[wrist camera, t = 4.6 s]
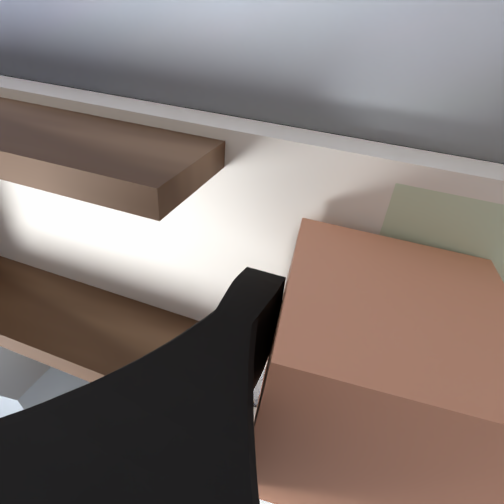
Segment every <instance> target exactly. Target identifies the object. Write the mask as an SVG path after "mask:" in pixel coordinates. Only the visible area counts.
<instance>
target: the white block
mask: <svg viewBox="0 0 504 504" xmlns="http://www.w3.org/2000/svg"><path fill="white" fill-rule="evenodd" d="M88 383H90V382H88V381H86V380H83V379H81V378H78V377H76V376H73V375H71V374H68V373H66V372H63V371H61V370H58V369H56V368H53V367H51V366H48V365H46V364H43V363H41V362H38V361H36V360H33V359H31V358H28V357H26V356H23V355H21V354H18V353H16V352H13V351H11V350H9V349H6V348H4V347H1V346H0V418H1V417H4V416H7V415H10V414H13V413H16V412H19V411H22V410H24V409H27V408H30V407H32V406H35V405H37V404H40V403H43V402H45V401H47V400H50V399H52V398H55V397H57V396H59V395H62V394H64V393H67V392H69V391H71V390H74V389H76V388H79V387H81V386H83V385H86V384H88Z"/></svg>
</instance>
